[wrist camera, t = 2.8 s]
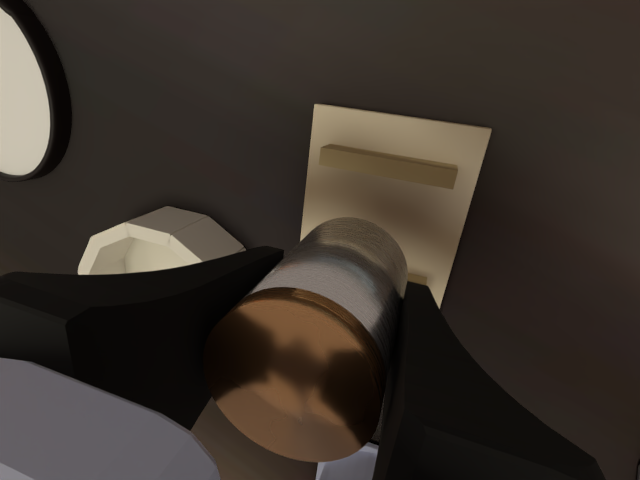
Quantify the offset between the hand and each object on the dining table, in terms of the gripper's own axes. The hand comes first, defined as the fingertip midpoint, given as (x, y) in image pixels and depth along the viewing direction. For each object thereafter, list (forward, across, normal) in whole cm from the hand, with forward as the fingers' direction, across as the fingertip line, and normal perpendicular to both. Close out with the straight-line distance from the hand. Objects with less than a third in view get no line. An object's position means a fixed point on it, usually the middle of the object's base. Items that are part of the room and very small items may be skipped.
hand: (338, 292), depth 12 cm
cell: (+2, 0, 0) cm, 2 cm away
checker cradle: (+9, 0, 0) cm, 9 cm away
